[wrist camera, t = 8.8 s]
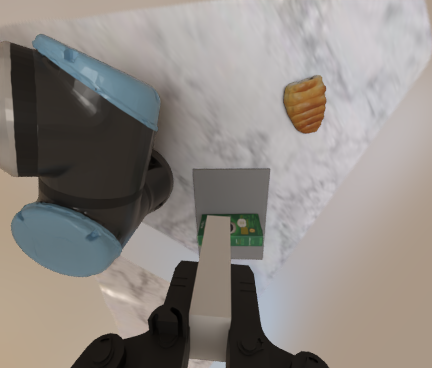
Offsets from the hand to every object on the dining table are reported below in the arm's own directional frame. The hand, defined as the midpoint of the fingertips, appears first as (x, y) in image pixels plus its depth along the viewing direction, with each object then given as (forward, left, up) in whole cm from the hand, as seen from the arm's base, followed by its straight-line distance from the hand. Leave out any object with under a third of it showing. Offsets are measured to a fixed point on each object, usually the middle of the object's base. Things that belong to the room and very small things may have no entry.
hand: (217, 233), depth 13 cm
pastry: (+14, +7, -29) cm, 33 cm away
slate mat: (+1, -17, -29) cm, 34 cm away
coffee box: (+8, -17, -25) cm, 31 cm away
